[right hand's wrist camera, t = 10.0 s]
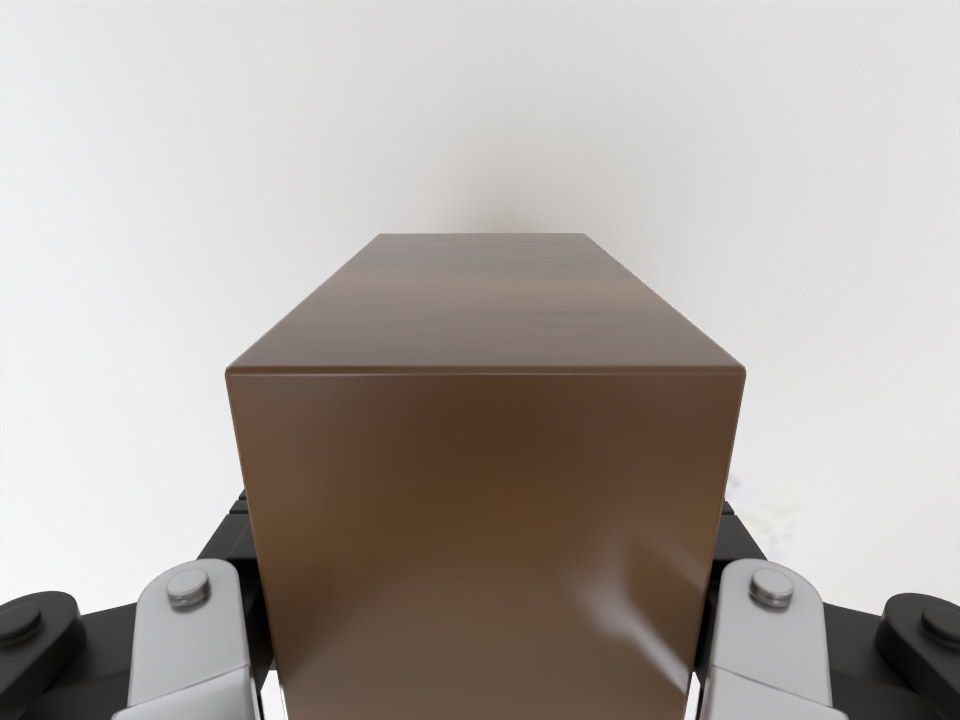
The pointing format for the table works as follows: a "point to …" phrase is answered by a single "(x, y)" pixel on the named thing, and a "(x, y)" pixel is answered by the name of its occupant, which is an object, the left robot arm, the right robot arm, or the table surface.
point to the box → (484, 484)
